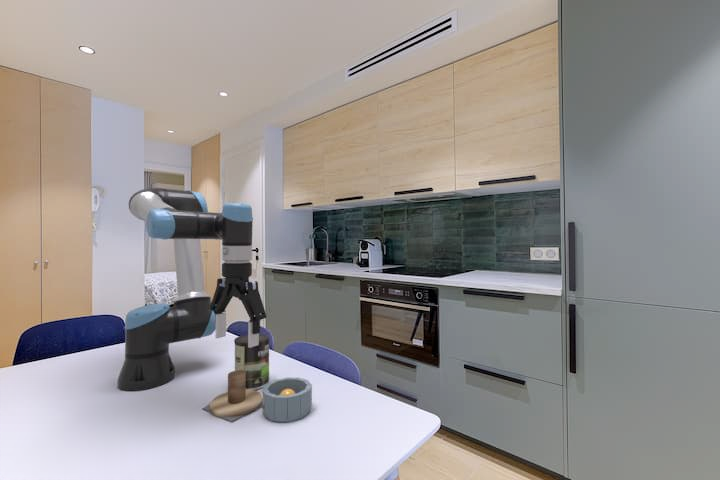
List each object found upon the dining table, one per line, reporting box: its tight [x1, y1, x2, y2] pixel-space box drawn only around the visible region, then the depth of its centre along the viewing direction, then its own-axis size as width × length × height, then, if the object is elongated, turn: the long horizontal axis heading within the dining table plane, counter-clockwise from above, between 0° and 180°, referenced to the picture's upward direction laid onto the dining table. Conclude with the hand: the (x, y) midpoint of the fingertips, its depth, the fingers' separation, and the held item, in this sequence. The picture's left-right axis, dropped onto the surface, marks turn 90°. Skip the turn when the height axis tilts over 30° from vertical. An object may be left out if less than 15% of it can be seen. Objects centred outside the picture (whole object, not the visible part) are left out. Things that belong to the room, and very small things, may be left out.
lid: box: [209, 370, 263, 418], centre depth 88 cm, size 13×13×8 cm
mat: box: [202, 397, 263, 423], centre depth 88 cm, size 12×12×1 cm
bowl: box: [262, 376, 313, 424], centre depth 85 cm, size 12×12×6 cm
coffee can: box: [234, 333, 270, 391], centre depth 102 cm, size 10×10×14 cm
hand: (236, 341), depth 88 cm, fingers open, 13 cm apart
